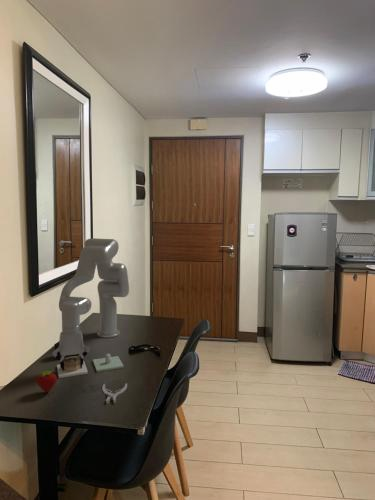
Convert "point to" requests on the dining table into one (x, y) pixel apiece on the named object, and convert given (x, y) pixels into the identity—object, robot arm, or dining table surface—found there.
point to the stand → (67, 374)
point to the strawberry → (46, 380)
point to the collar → (71, 364)
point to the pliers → (111, 395)
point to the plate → (107, 363)
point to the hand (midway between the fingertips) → (72, 367)
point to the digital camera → (59, 352)
